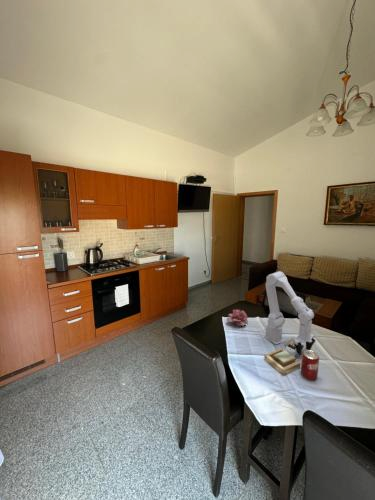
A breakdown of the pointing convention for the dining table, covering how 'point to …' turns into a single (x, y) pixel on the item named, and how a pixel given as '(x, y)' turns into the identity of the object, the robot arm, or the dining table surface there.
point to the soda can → (310, 365)
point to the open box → (284, 358)
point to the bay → (277, 366)
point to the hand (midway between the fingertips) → (303, 351)
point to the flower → (238, 318)
